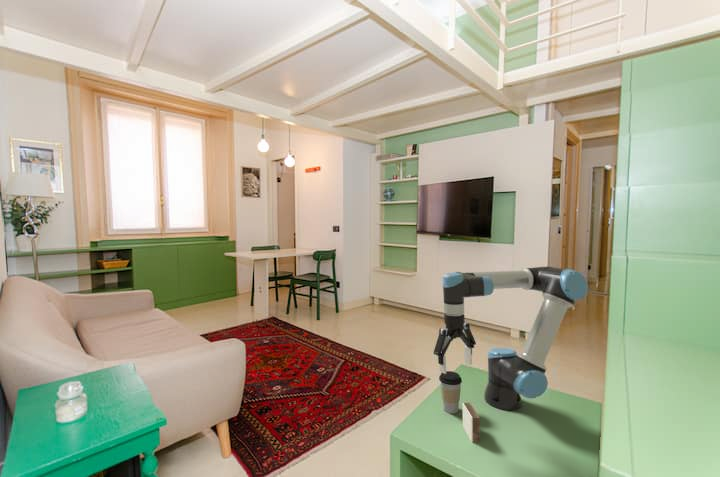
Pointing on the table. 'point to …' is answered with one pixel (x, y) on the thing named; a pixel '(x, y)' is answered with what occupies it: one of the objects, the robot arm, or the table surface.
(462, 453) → the table surface
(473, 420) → the wooden block
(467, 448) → the table surface
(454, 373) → the coffee cup
